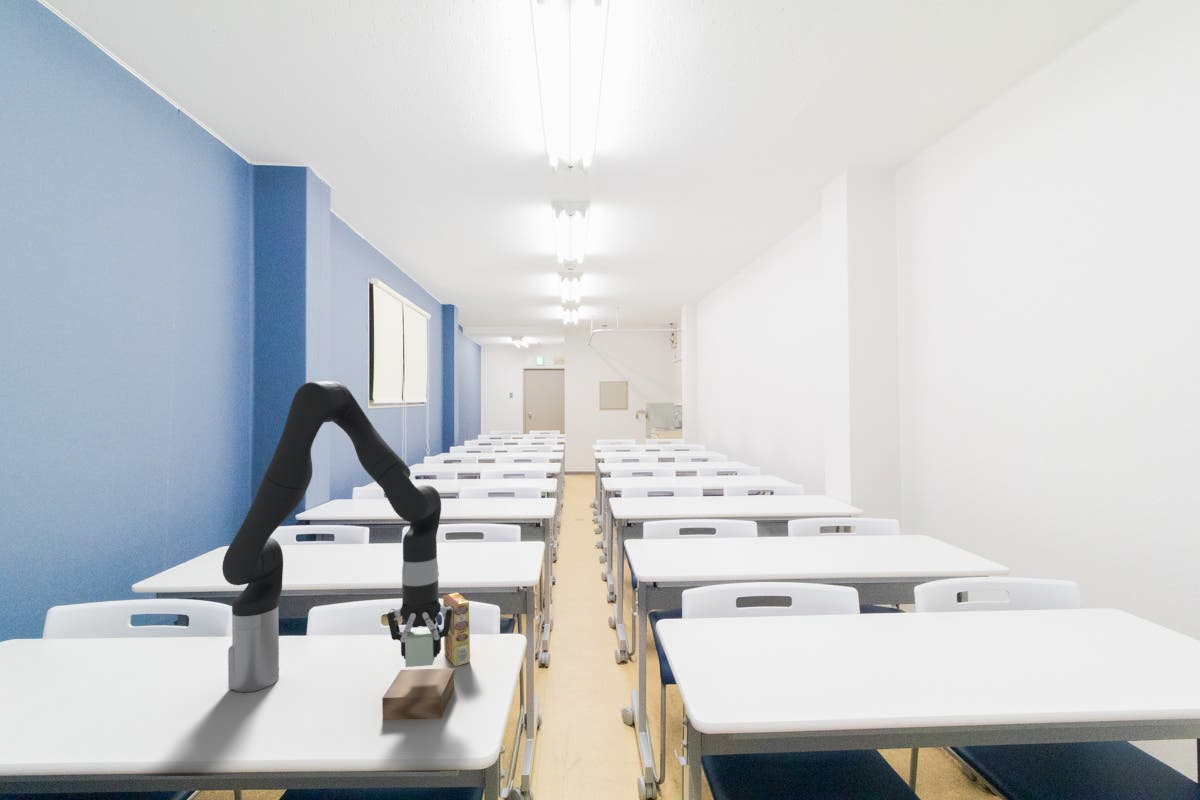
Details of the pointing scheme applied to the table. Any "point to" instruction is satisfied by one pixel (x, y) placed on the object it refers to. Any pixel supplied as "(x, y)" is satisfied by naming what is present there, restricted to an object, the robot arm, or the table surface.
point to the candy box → (457, 630)
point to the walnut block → (418, 694)
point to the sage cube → (419, 647)
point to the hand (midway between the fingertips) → (421, 656)
